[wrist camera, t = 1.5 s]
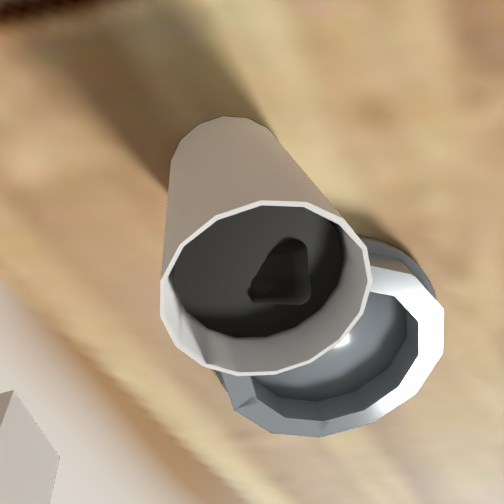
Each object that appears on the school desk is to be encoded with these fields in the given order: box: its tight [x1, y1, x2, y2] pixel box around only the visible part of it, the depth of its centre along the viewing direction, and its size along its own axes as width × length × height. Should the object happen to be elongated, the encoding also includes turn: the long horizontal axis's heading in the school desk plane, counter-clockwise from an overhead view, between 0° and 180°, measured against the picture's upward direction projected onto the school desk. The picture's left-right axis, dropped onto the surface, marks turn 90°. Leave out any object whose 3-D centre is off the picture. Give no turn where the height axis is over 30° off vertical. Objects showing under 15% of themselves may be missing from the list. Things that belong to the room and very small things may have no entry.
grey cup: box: [160, 116, 373, 376], centre depth 19 cm, size 7×7×10 cm
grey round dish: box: [216, 236, 444, 437], centre depth 28 cm, size 14×14×2 cm
